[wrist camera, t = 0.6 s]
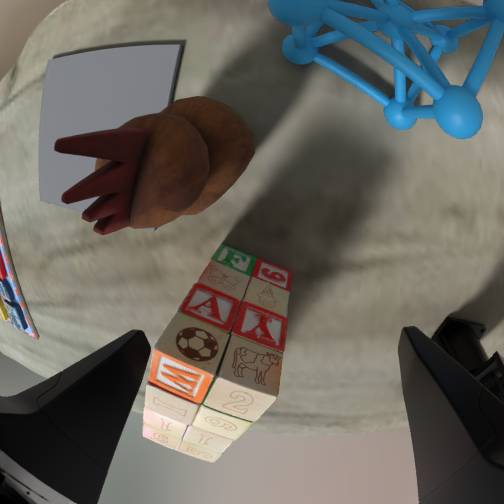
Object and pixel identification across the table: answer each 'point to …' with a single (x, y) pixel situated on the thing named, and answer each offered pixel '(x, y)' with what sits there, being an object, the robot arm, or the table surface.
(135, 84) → the felt mat
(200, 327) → the stack of blocks
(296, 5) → the molecular structure
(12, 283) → the puzzle board
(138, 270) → the table surface
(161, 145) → the wooden figurine
